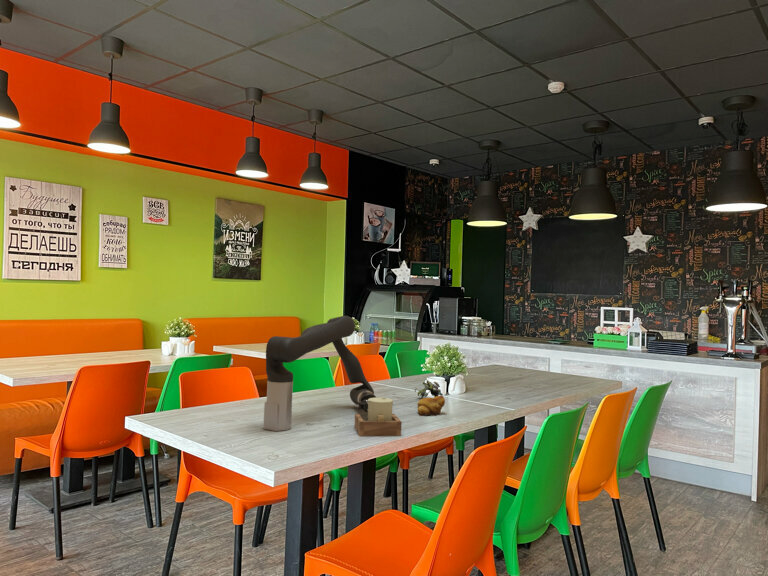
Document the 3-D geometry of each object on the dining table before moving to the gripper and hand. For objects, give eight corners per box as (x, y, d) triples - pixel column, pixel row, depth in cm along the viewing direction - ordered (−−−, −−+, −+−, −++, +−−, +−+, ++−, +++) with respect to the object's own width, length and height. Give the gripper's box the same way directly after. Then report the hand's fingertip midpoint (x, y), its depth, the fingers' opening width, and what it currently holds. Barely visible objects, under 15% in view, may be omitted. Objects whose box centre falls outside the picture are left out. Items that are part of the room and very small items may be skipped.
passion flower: (435, 410, 271) (448, 392, 267) (419, 408, 264) (433, 390, 260) (424, 394, 279) (437, 376, 275) (408, 392, 272) (422, 374, 268)
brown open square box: (401, 435, 197) (401, 416, 197) (359, 436, 194) (360, 416, 194) (393, 426, 210) (394, 408, 210) (354, 427, 208) (355, 408, 208)
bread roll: (425, 417, 229) (426, 398, 229) (409, 413, 237) (410, 394, 237) (446, 414, 238) (447, 395, 238) (430, 410, 245) (431, 392, 245)
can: (395, 430, 205) (396, 397, 206) (386, 435, 197) (387, 401, 197) (372, 427, 209) (374, 395, 209) (362, 432, 200) (364, 399, 201)
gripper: (351, 391, 227) (357, 400, 210) (383, 392, 229) (391, 400, 212) (351, 410, 227) (356, 419, 210) (382, 410, 229) (390, 419, 212)
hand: (374, 409), depth 211 cm, fingers closed
